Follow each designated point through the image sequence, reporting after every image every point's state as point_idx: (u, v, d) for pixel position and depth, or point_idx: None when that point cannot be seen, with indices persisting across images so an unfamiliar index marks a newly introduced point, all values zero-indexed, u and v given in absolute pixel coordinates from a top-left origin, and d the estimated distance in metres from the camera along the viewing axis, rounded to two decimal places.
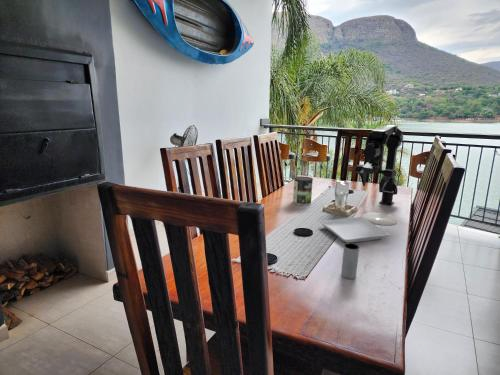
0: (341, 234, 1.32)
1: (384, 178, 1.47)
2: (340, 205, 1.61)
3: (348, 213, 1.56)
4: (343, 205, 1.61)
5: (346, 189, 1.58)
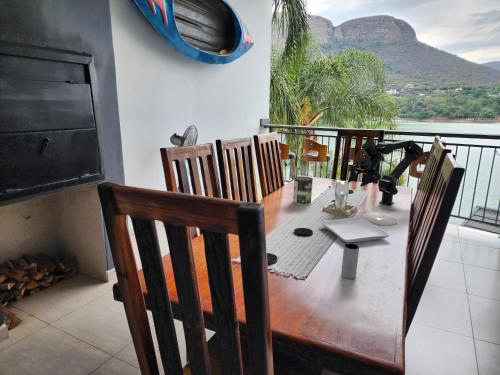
0: (341, 234, 1.32)
1: (368, 174, 1.58)
2: (340, 205, 1.61)
3: (348, 213, 1.56)
4: (343, 205, 1.61)
5: (346, 189, 1.58)
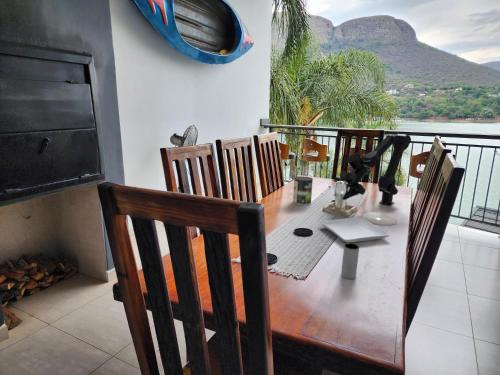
0: (341, 234, 1.32)
1: (350, 188, 1.57)
2: (340, 205, 1.61)
3: (348, 213, 1.56)
4: (343, 205, 1.61)
5: (346, 189, 1.58)
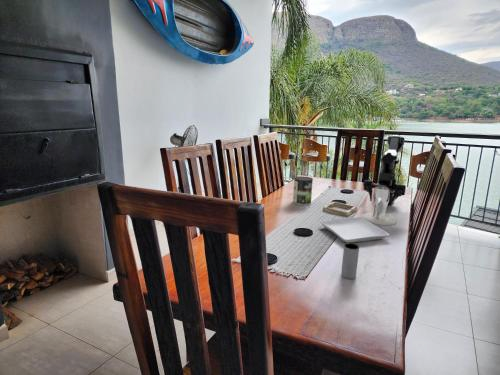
0: (341, 234, 1.32)
1: (397, 190, 1.47)
2: (383, 212, 1.49)
3: (348, 213, 1.56)
4: (385, 211, 1.50)
5: (389, 194, 1.48)
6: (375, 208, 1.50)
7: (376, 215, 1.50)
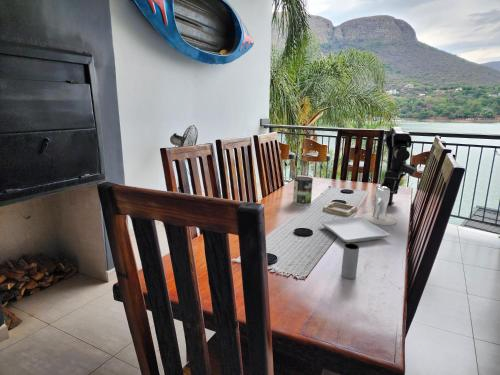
0: (341, 234, 1.32)
1: (404, 175, 1.59)
2: (383, 212, 1.49)
3: (348, 213, 1.56)
4: (385, 211, 1.50)
5: (389, 194, 1.48)
6: (375, 208, 1.50)
7: (376, 215, 1.50)
